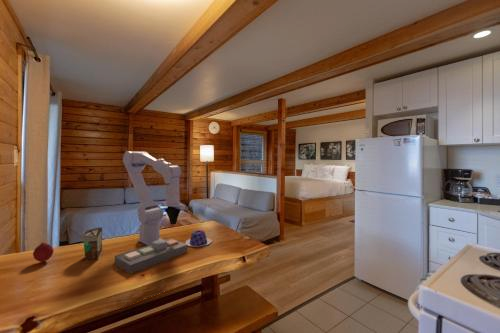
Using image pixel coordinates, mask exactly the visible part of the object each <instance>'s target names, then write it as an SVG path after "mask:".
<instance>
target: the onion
mask: <svg viewBox="0 0 500 333" xmlns="http://www.w3.org/2000/svg"><path fill="white" fill-rule="evenodd" d="M54 252H55V251H54V248H53V246H52V245H51V244H49V243H46V242H45V241H43V240H41V242H40V243H39V245H38V246H37V247H36V248H35V249H34V250H33V252H32V256H33V258H34V260H36V261H38V262H40V263H45V262H47V261H48V260H50V259H51V258H52V256H53V254H54Z"/></svg>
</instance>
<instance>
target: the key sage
mask: <svg viewBox="0 0 500 333" xmlns="http://www.w3.org/2000/svg"><path fill="white" fill-rule="evenodd" d="M153 252H154V249H152V248H150V247H147V248H144V249H140V250H139V253H140V254H142V255H147V254H150V253H153Z"/></svg>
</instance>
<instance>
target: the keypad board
mask: <svg viewBox="0 0 500 333" xmlns="http://www.w3.org/2000/svg"><path fill="white" fill-rule="evenodd" d="M172 239H173V238H168V239H164V241H169V240H172ZM173 240H175V239H173ZM177 241H178V244H177V245H174V246H171V247H169V246H167V248H165V249H162V250H159V251H156V250H154V252H153V253H150V254H147V255H142V254H141V257H139V258H136V259H133V260H130V261H129V260H127V259H126V258H124V255H125V254H128V253H131V252H134V251H136V252H138V253H139V250H140V249H144V248H147V247H150V248H152V244H150V245H145V246H141V247H138V248H136V249H132V250H129V251H126V252H123V253H120V254H116V255H114V264H115V265H116V266H118V267H119V268H120V269H122V270H124V271H126V273H128V274H133V273H136V272H138V271H141V270H144V269H146V268H148V267H152V266H154V265H156V264H159V263H162V262H165V261H167V260H169V259H171V258H174V257H177V256H180V255H182V254H185V253H187V252H188V250H189V249H188V245H187V244H185V242H182V241H179V240H177Z"/></svg>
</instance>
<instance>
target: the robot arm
mask: <svg viewBox="0 0 500 333" xmlns="http://www.w3.org/2000/svg"><path fill="white" fill-rule="evenodd" d="M122 162H123V165H124V167H125V170H126V171H127V173H128V176H129V179H130V182H131V183H132V186H133V189H134V191H135V194H136V196H137V199H138V200H139V203H140V206H138V208H137V214H138V215H137V216H138V220H139V221H138V222H140V225H139V228H138V229H139V238H138V239H137V242H140V243H142V244H143V245H144V244H145V246H148V245H151V244H152V242H154V241H157V240H161V239H162V240H165V239H164V238H161V237H160V235H161V234H160V222H161V221H162V219H163V217H164V211H165V213H166V214H167V217H168V219H169V223H170V225H171V226H173V225H177V224H178V223H177V221H178V217H179V215H180V212H181V211H183V210H186V204H184V203H181V202H180V200H181V199H180V192H181V191H180V178H181V177H182V174H183V170H182V168H181V167H180V166H179V165H178V164H175V165H174V164H172V163H171V162H167V161H166V160H165V159H164V158H158V159H157V158H155V157H153V156H152V155H151V154H149V152H147V151H144V150H143V151H129V150H126V151H125V152H124V154H123V157H122ZM147 165H149V166H152V169H153V170H154V171H156V172H157V173H159V174H160V175H162V178H163V181H164V184H165V200H164V201H161V206H160V204H159V203H158V202H156V201H154V200H153V198H152V197H151V194H150V191H149V189H148V186H147V184H146V182H145V179H144V176H143V174H142V171H143V170H144V169H145V167H146V166H147ZM162 207H167V208H164V210H163V208H162Z"/></svg>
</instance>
